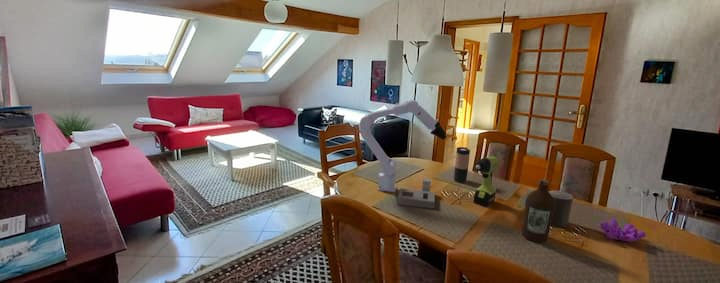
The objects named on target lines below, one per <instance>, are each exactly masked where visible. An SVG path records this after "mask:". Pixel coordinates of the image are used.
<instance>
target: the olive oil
mask: <svg viewBox="0 0 720 283" xmlns="http://www.w3.org/2000/svg"><path fill="white" fill-rule="evenodd" d="M549 183H550V182H549V180H547V179H539V182H538V185H537V186H538V187H537V189H535V190H533V191H532V192H530V193H529V194H527V196H526V198H525V204H524V214H523V222H522V227H521V228H522V230H521V236H522V237H523V238H524V237H525V239H526V240H528V241H530V242H533V243H537V242H538V243H537V244H541V243H545V242H547V241H548V237H549V234H550V229H551V222H552V218H553V214H554V211H555V200H554V198H553V197H552V196H551V194H550V193H549Z"/></svg>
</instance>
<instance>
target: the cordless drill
mask: <svg viewBox="0 0 720 283" xmlns="http://www.w3.org/2000/svg"><path fill="white" fill-rule="evenodd" d="M500 165H501V164H500V161H499V158H498V157H496V156H487V157H482V158H480V159H479V160H478V161H477V162H475V164H474V170H475V171H477V172H480V173H481V175H482V178H483V179H482V180H483V181H482V184H481V185H480V186H479V187H477V188H476V190H475V192H474V195H473V202H472V203H473V204H475V205H478V206H481V207H483V208H488V207H489V206H491V205H492V204H493V203H494V202H495V198H496V191H497V188H495V186H493V184H492V181H493V172H494V171H496V170H497V169H499V167H500Z"/></svg>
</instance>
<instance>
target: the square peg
mask: <svg viewBox="0 0 720 283" xmlns="http://www.w3.org/2000/svg"><path fill="white" fill-rule="evenodd" d="M431 182H432V179H431V178H425V177H424V178H422V188H421V189H422V190H421V191H427V192H431Z"/></svg>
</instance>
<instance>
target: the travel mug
mask: <svg viewBox="0 0 720 283" xmlns="http://www.w3.org/2000/svg"><path fill="white" fill-rule="evenodd" d="M470 154H471V149H468V147H463V146H462V147H460V146H459V147H456V153H455V160H454V175H453V180H454V182H456V183H459V184H464V183H465V184H466V182H467V178H468V171H469V166H470V165H469V164H470V163H469V162H470V156H471V155H470Z"/></svg>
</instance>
